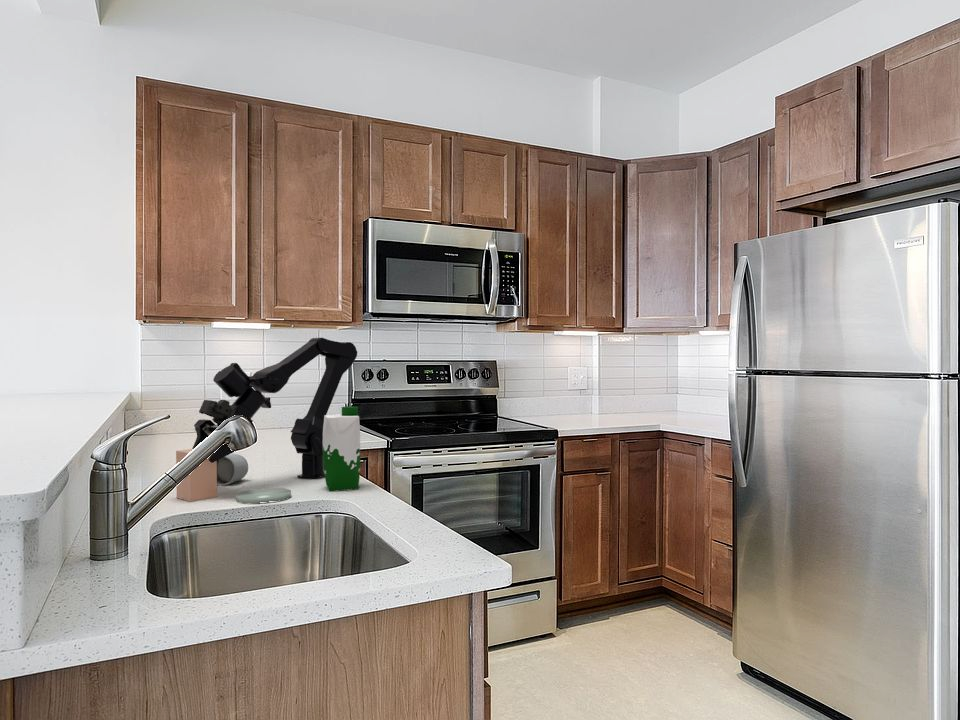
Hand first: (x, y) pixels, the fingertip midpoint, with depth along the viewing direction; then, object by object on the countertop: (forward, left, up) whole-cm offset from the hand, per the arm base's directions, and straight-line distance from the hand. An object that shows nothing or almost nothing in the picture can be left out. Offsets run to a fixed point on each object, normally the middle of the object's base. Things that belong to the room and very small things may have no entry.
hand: (200, 459), depth 151 cm
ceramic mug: (-16, -6, -9) cm, 19 cm away
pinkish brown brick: (+1, 0, -9) cm, 9 cm away
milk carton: (-17, +28, -9) cm, 34 cm away
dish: (-2, +16, -9) cm, 18 cm away
